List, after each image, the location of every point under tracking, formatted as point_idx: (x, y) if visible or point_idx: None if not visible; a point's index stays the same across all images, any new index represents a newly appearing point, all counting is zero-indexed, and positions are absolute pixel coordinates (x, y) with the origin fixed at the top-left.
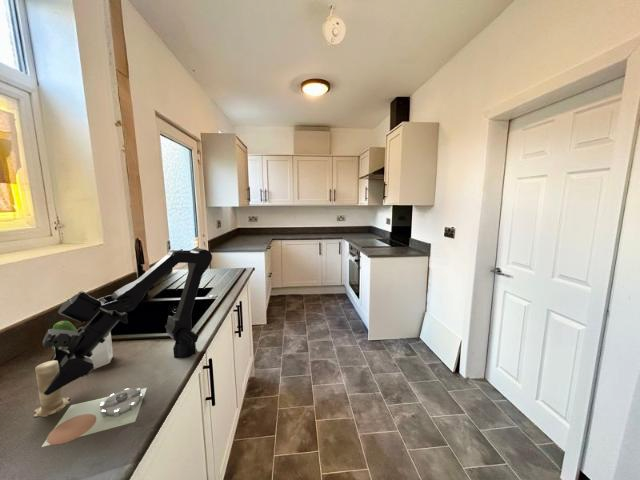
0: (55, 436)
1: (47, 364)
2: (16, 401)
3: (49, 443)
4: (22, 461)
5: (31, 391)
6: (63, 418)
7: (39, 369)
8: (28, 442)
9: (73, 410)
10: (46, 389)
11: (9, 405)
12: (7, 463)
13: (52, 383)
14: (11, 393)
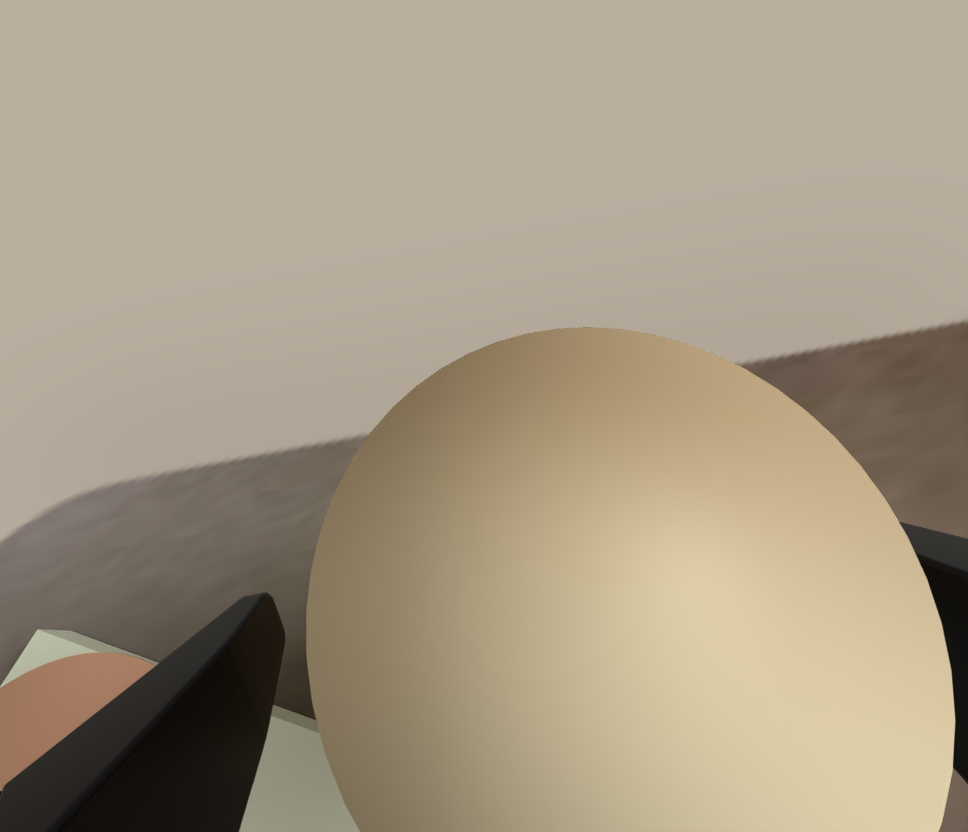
0: (62, 708)
1: (645, 588)
2: (801, 396)
3: (20, 677)
4: (90, 545)
5: (907, 448)
6: (272, 739)
7: (385, 428)
8: (253, 541)
9: (332, 817)
10: (216, 629)
11: (768, 373)
12: (148, 482)
13: (54, 752)
14: (924, 352)
